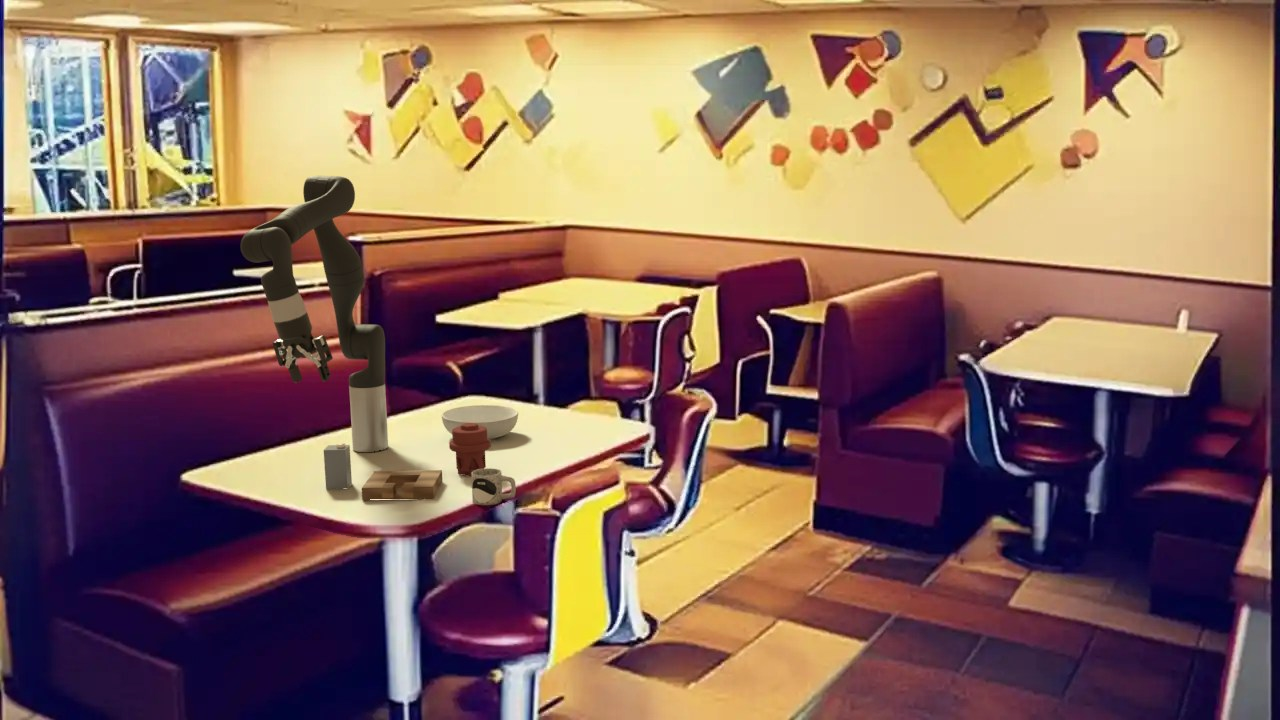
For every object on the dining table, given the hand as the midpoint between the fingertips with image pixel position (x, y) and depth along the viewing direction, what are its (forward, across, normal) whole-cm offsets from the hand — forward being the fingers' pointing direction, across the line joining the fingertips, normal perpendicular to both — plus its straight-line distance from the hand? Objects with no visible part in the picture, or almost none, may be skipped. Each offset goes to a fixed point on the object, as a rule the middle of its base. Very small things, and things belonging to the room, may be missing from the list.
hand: (312, 380), depth 267 cm
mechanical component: (+35, -20, -19) cm, 45 cm away
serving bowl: (+40, -1, -52) cm, 66 cm away
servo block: (+27, +2, +1) cm, 27 cm away
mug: (+33, -38, -3) cm, 50 cm away
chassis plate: (+29, -15, -1) cm, 33 cm away
